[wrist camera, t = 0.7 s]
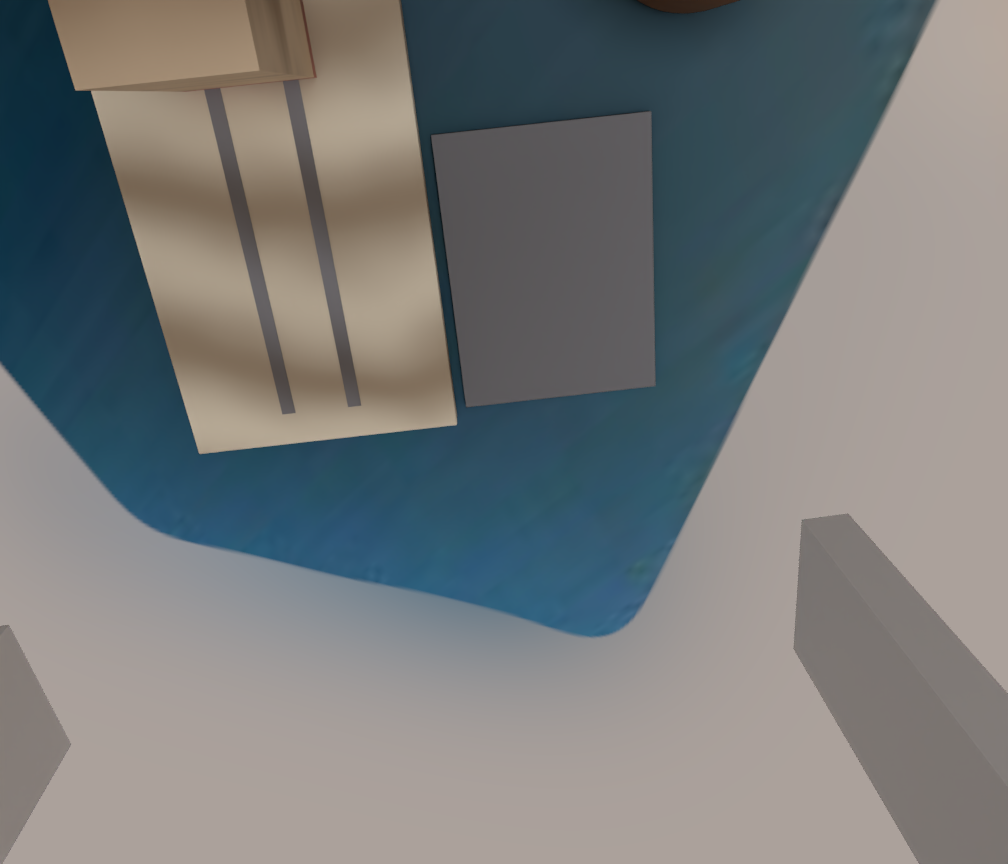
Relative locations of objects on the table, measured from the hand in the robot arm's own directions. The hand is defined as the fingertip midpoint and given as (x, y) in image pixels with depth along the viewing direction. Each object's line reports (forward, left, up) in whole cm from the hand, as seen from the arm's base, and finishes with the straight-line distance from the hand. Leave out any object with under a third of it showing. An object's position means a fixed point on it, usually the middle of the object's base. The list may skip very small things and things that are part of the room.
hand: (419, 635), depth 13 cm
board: (-5, -6, -23) cm, 24 cm away
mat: (-1, +5, -23) cm, 23 cm away
